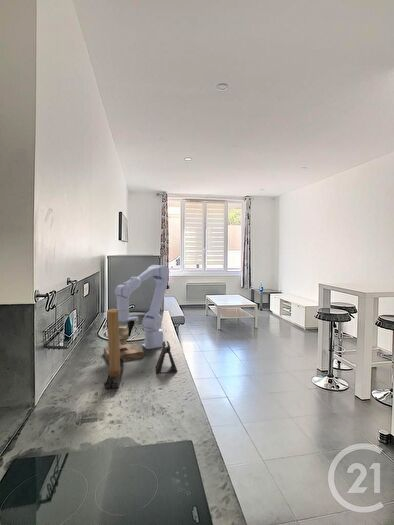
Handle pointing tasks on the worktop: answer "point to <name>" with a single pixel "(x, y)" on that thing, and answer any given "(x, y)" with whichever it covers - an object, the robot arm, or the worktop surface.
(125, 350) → the board
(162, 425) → the worktop surface
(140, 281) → the robot arm
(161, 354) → the dark a-frame stand
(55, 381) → the worktop surface
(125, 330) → the peg
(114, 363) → the hammer
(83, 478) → the worktop surface
